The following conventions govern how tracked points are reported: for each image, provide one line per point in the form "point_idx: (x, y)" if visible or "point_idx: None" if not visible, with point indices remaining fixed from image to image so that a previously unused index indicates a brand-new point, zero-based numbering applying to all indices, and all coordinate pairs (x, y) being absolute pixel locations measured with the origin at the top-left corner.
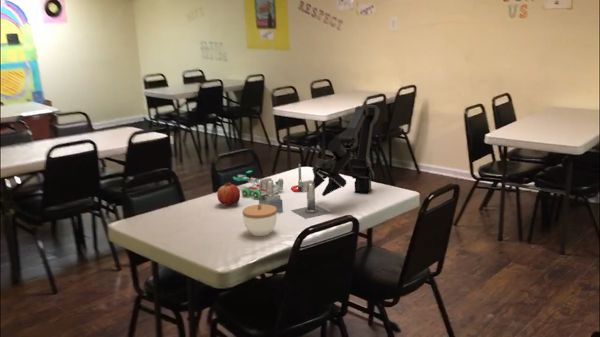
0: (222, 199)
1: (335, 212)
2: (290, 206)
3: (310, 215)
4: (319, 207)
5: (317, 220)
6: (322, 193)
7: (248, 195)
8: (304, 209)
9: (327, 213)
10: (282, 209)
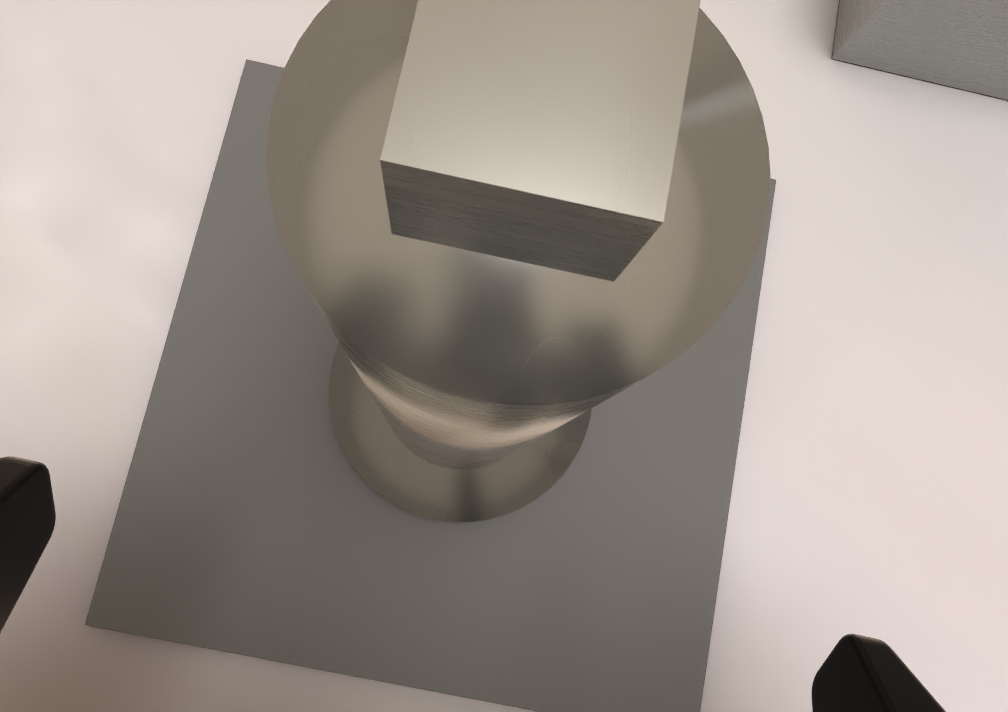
0: None
1: (41, 704)
2: (979, 331)
3: None
4: (514, 664)
5: (5, 134)
6: (1, 482)
7: None
8: None
9: (114, 522)
10: (852, 30)
